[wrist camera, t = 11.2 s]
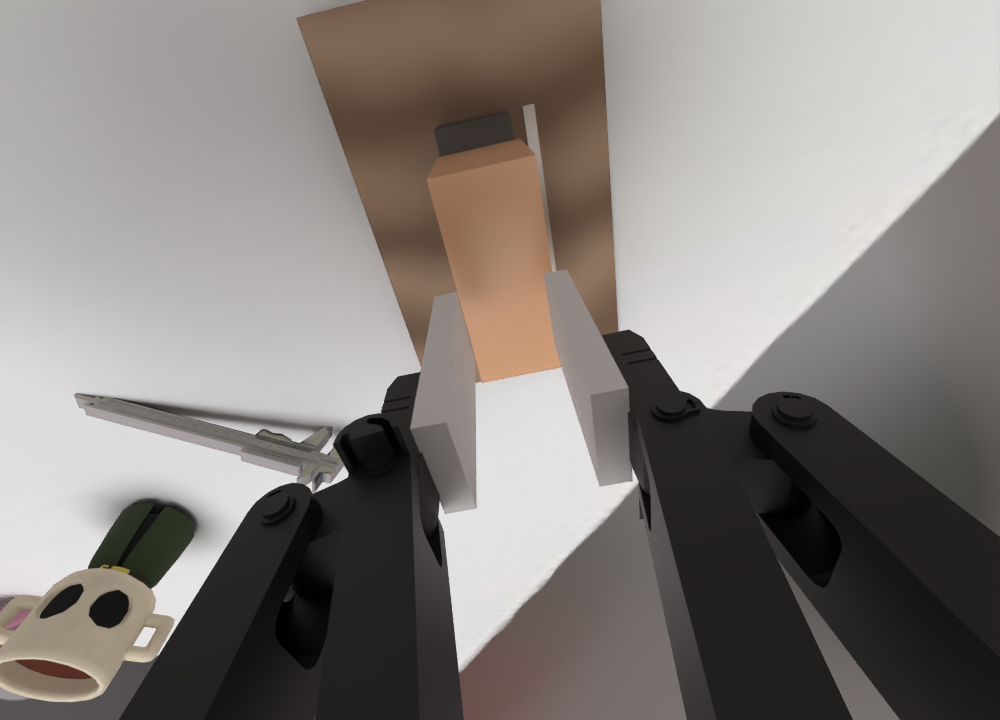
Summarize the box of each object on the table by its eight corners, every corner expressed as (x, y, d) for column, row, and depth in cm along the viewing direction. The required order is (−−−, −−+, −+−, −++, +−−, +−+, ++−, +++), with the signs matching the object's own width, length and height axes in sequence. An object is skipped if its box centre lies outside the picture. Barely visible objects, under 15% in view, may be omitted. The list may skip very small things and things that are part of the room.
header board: (309, 23, 21) (228, -10, 14) (587, -46, 21) (648, -118, 13) (432, 376, 33) (421, 455, 26) (611, 340, 32) (651, 412, 25)
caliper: (355, 427, 36) (334, 485, 31) (354, 436, 36) (334, 495, 31) (78, 391, 32) (2, 449, 27) (82, 402, 33) (8, 461, 28)
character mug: (229, 510, 40) (137, 669, 29) (221, 553, 43) (135, 710, 32) (94, 480, 37) (-64, 645, 26) (96, 529, 40) (-43, 693, 30)
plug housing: (437, 157, 20) (426, 179, 15) (519, 138, 20) (536, 155, 15) (480, 324, 25) (482, 382, 20) (546, 310, 25) (565, 366, 20)
